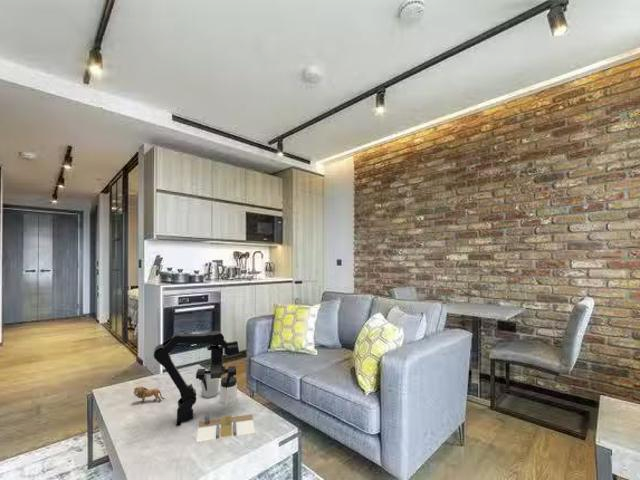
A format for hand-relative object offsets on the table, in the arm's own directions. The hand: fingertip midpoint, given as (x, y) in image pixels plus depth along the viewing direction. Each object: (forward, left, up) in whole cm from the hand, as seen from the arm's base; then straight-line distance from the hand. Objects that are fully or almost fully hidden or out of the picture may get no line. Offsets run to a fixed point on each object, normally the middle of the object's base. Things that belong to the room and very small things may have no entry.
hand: (216, 389), depth 156 cm
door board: (+5, -15, -12) cm, 20 cm away
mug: (-5, +24, -12) cm, 28 cm away
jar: (+6, +11, -12) cm, 18 cm away
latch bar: (+5, -19, -11) cm, 22 cm away
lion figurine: (-35, +23, -12) cm, 44 cm away
